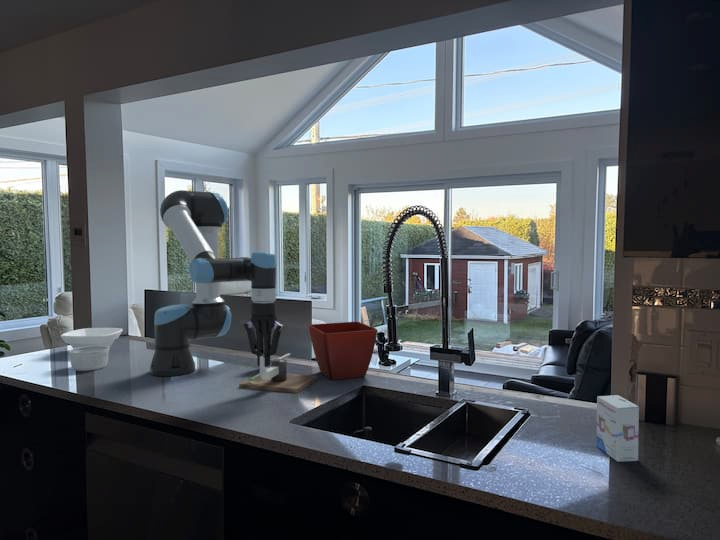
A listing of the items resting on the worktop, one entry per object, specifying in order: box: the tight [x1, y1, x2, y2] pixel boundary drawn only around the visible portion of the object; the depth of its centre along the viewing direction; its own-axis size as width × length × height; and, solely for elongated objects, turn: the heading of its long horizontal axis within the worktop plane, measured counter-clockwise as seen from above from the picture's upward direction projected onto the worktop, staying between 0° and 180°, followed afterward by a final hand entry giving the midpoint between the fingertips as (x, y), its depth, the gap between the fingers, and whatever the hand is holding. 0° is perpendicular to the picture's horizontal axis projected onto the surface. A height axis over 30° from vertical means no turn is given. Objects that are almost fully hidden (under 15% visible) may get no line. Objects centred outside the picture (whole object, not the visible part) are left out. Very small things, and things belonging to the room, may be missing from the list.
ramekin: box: [68, 346, 110, 372], centre depth 188 cm, size 13×13×7 cm
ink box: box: [596, 394, 640, 463], centre depth 111 cm, size 9×5×12 cm, turn 5°
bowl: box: [60, 327, 123, 349], centre depth 214 cm, size 21×21×9 cm
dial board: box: [238, 372, 318, 394], centre depth 167 cm, size 20×17×2 cm
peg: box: [262, 352, 292, 381], centre depth 166 cm, size 18×5×7 cm, turn 164°
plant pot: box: [308, 321, 378, 381], centre depth 178 cm, size 19×19×17 cm
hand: (263, 376), depth 160 cm, fingers closed
